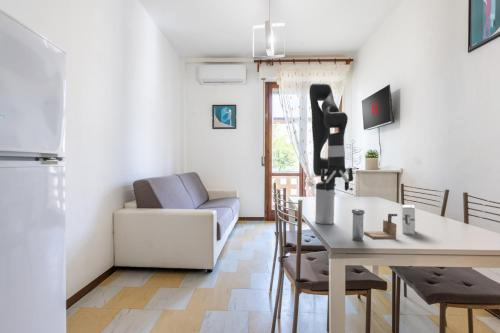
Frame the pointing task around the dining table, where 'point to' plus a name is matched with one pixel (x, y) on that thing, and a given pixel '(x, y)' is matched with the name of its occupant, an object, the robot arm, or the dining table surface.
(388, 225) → the block
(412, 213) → the ink box
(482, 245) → the dining table surface
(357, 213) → the steel pin
